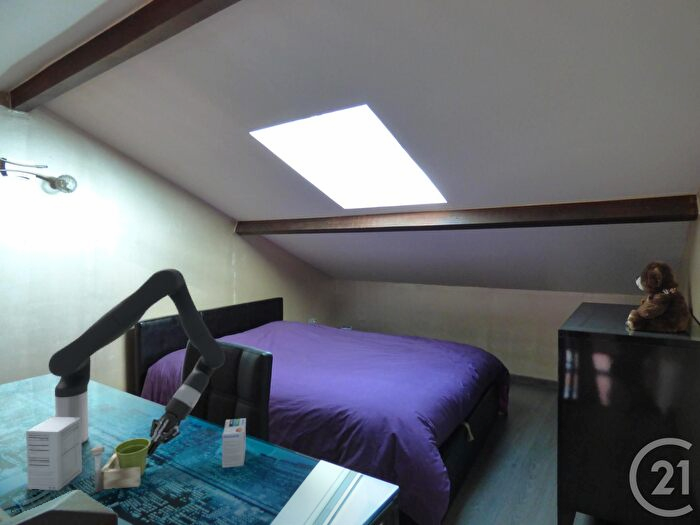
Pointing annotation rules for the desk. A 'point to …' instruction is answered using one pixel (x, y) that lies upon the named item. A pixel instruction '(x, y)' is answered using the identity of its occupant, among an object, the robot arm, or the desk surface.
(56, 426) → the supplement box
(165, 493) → the desk surface
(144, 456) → the plant pot
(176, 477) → the desk surface
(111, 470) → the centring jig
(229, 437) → the light bulb box
